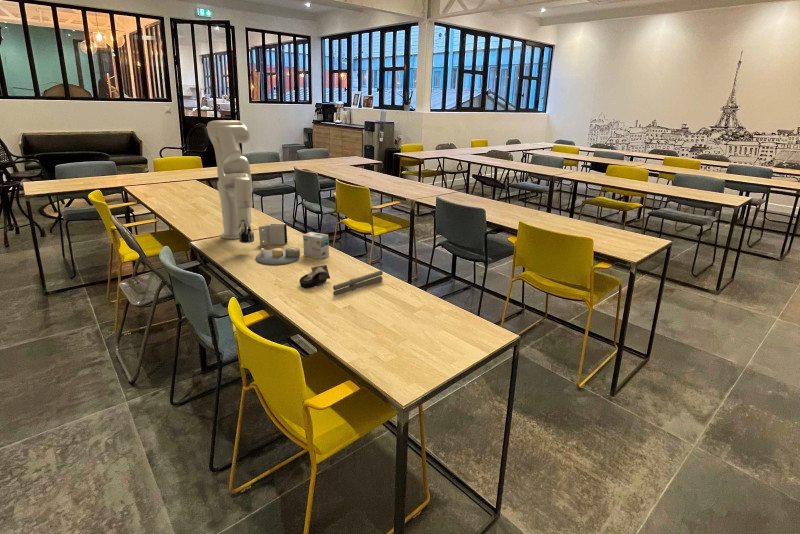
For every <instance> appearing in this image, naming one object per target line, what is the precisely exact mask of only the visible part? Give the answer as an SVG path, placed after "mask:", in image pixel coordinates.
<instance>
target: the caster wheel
mask: <svg viewBox="0 0 800 534" xmlns="http://www.w3.org/2000/svg"><path fill="white" fill-rule="evenodd" d="M310 269H311V272H308V273H307V274H304V275H303V276H301V277H300V278H299V281H298V282H299V284H300V285H299V286H300V288H303V289H306V290H307V289H313V288H315V287H322V286H324V285H325V284H326V282H327V280H329V279H331V276H330V273H329V268H328V266H327V265H325V264H324V265H318V266H312V267H311V268H310Z"/></svg>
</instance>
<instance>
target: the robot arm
mask: <svg viewBox="0 0 800 534" xmlns="http://www.w3.org/2000/svg"><path fill="white" fill-rule="evenodd" d="M206 131H207V136H208V138H209V140H210V142H211V144H212V145H213V146H212V147H213V149H214V154H215V160H216V166H217V169H216V170H217V171H216V173H217V178H218V180H217V182H216V183H217V185H216V186H217V191H218V195H219V200H220V206H221V207H220V208H221V216H222V217H221V218H222V226H223V232H222V233H221V234H220V237H221V238H223V239H226V240H236V239H238V240H239V232H241V241H242V242H248V241H249V239H248V234H247V231H252V226H251V224H252V208H253V189H254V187H253V186H254V185H253V179H252V173H251V166H250V162H249V160H248V158H247V157H246V156H244V155H242V150H241V147H240V144H247V143H249V141H250V138H251V135H250V131H249V128H248V127H247V126H246V124H245V123H244V122H243V121H241V120H233V119H231V120H229V119H228V120H225V119H223V120H222V119H221V120H220V119H219V120H216V119H215V120H211V121H208V122H207V125H206Z"/></svg>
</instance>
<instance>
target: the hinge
mask: <svg viewBox="0 0 800 534" xmlns="http://www.w3.org/2000/svg"><path fill="white" fill-rule="evenodd" d="M287 231H288V229H287V224H286V223H265V224H264V225H261V226H258V234H259V235H258V236H259V246H265V244H267V245H287V244H288V232H287Z"/></svg>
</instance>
